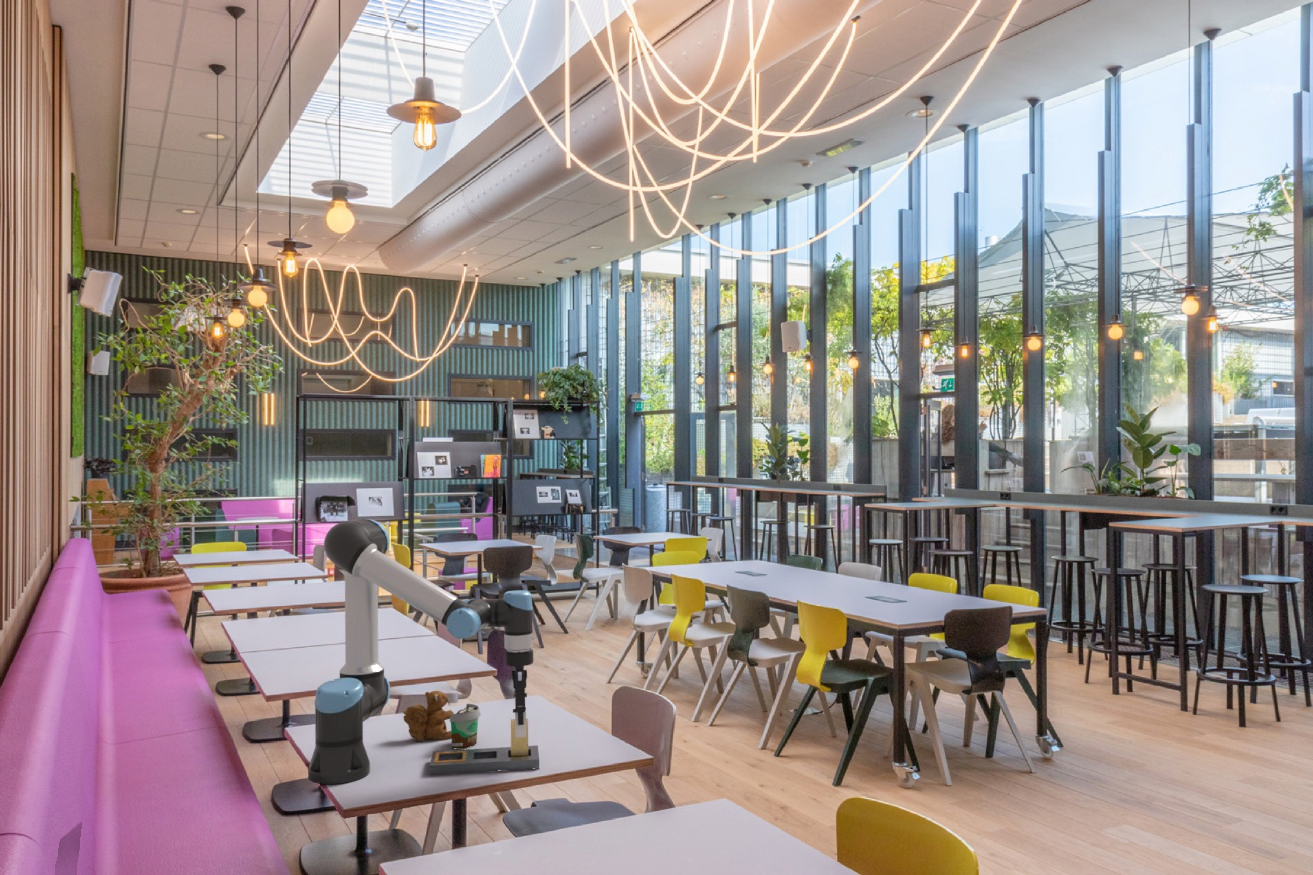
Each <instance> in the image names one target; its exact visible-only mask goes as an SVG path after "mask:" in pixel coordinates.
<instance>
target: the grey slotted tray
mask: <svg viewBox="0 0 1313 875" xmlns="http://www.w3.org/2000/svg"><path fill="white" fill-rule="evenodd" d="M539 754H540V753H539V745H528V756H524V757H511V746H507V747H506V746H504V747H490V748H489V747H487V748H486V747H485V748H472V749H471V748H470V749H469V748H468V749H467V748H465V749H451V750H435V751H434V750H433V751H432V753H431V758H430V762H429V768H428V770H429V771H428V775H430V776H442V775H457V774H458V775H459V774H462V775H463V774H476V772H479V773H490V772H489V771H496V772H499V771H498V770H512V771H523V770H522V769H529V770H534V769H533V768H539V769H540V755H539Z"/></svg>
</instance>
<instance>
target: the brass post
mask: <svg viewBox="0 0 1313 875" xmlns="http://www.w3.org/2000/svg"><path fill="white" fill-rule="evenodd" d="M528 746H529V719H528V718H526V737H516V726H515V718H514V719H513V718H511V719H510V747H511V757H524V756H528Z"/></svg>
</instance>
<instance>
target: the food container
mask: <svg viewBox="0 0 1313 875" xmlns="http://www.w3.org/2000/svg"><path fill="white" fill-rule="evenodd" d="M465 706H466V707H464V708H463V709H460V710H458V711H457V712H456V713H454V714H451V716H450V719H449V722H450V731H451V736H452V738H451V750H455V749H454V748H463V749H467V748H468V747H469V748H471V747H470V746H472V747H474V746H476V745H477V743H478V742H477V741H478V740H477V739H478V726H479V725H478V724H479V718H480V716H481V715H482V714H481V710H480V708H479V705H477V704H473V703H466V705H465ZM475 744H476V745H475ZM469 748H468V749H469Z"/></svg>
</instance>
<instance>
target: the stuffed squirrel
mask: <svg viewBox="0 0 1313 875" xmlns="http://www.w3.org/2000/svg"><path fill="white" fill-rule="evenodd" d="M424 693H425V694H424V695H425V698H426V704H427V706H426V707H425V706H424V705H422V704H415V705H411V706H408V707H407V708H406V710H404V711H402V714H404V715H403V717H402V718H403V721H404V723H406V724H407V725H408V727H407V728H408V734H409V735H410V737H411V738H412V739H413V740H415V741H417V742H423V740H424V741H425V740H426V741H427V740H430V739H432V740H431V741H444V740H443V739H445V740H450V738H451V739H452V736H451V730H447V723H446V721H447V720H450V716H451V714H455V713H454V711H452V710H451V709H450V710H444V709H443V707H445V706H446V705H447V703H448V706H451V705H450V704H451V702H450V701H449V699H448V696H447V694H446V693H445V692H443V691H440V690H433V691H430V692H429V691H426V692H424Z"/></svg>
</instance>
